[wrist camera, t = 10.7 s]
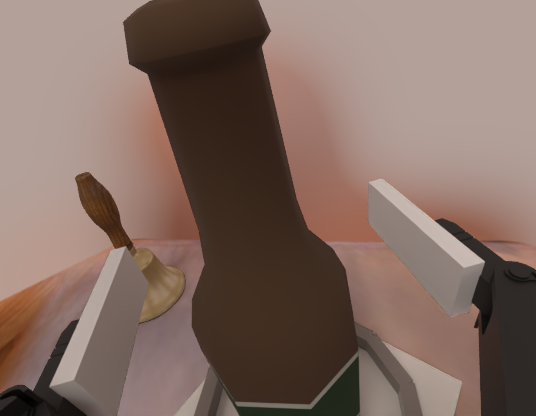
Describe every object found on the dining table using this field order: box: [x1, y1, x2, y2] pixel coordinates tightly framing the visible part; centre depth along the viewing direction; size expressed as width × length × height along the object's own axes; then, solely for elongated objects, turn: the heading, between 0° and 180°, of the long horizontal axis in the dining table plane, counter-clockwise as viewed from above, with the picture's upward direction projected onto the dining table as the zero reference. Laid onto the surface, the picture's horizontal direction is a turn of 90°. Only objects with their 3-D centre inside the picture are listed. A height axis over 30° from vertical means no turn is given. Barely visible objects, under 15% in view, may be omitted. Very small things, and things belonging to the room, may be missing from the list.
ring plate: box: [174, 322, 462, 416], centre depth 20 cm, size 16×16×2 cm
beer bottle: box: [123, 0, 360, 416], centre depth 13 cm, size 8×8×24 cm
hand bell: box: [75, 172, 185, 323], centre depth 29 cm, size 8×8×16 cm
